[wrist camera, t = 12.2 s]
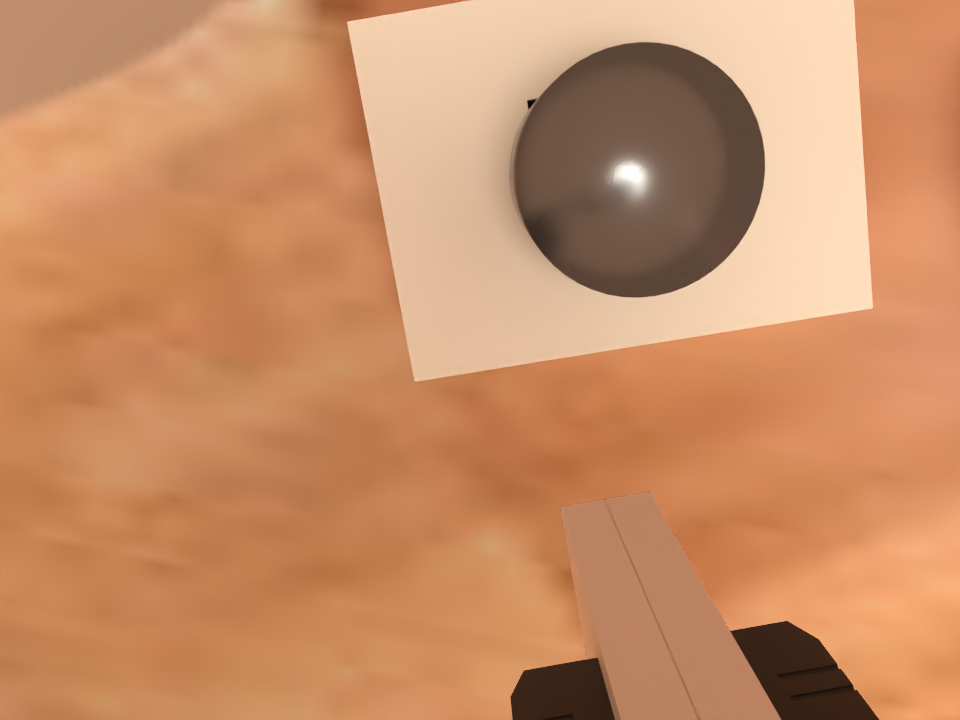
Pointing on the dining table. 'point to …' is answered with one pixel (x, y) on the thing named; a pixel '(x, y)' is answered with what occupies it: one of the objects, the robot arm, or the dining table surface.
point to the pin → (638, 169)
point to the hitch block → (486, 163)
